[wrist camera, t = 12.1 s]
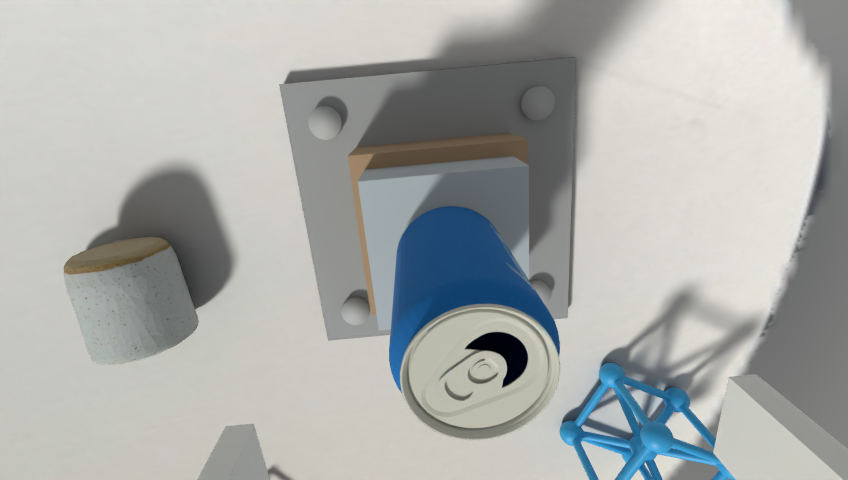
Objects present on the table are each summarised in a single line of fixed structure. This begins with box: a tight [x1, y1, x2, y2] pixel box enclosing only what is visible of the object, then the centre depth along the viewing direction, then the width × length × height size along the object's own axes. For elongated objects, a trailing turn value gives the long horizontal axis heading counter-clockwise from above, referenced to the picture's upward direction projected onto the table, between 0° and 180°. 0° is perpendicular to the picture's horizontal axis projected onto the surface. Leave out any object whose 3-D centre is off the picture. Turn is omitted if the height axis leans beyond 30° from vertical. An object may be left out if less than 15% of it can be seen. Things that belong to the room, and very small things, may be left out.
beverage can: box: [389, 206, 560, 440], centre depth 20 cm, size 6×6×12 cm
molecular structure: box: [560, 363, 736, 480], centre depth 38 cm, size 10×10×10 cm
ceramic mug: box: [64, 237, 199, 365], centre depth 33 cm, size 11×8×8 cm
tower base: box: [279, 57, 576, 340], centre depth 31 cm, size 22×22×10 cm
